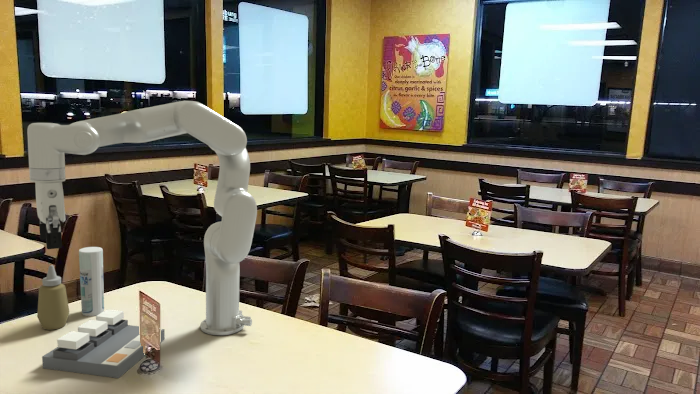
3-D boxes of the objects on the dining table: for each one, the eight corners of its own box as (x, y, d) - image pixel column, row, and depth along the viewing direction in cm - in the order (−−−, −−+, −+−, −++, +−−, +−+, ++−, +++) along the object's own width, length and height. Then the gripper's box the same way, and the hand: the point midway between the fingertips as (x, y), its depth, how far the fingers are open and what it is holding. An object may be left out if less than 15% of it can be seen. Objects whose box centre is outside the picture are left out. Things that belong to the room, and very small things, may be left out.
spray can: (77, 312, 163) (74, 249, 160) (97, 306, 169) (95, 245, 165) (87, 318, 160) (85, 253, 156) (108, 312, 165) (106, 249, 161)
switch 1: (89, 340, 133) (89, 333, 133) (76, 349, 128) (76, 341, 128) (71, 338, 134) (71, 331, 134) (57, 347, 129) (57, 339, 129)
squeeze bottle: (56, 333, 148) (53, 271, 145) (31, 330, 150) (27, 268, 147) (76, 322, 156) (73, 263, 153) (52, 319, 158) (49, 260, 155)
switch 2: (107, 328, 140) (107, 321, 140) (95, 336, 136) (95, 329, 135) (90, 326, 141) (90, 319, 141) (77, 334, 136) (77, 327, 136)
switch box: (164, 339, 148) (164, 323, 147) (118, 378, 127) (117, 360, 126) (98, 331, 151) (98, 316, 150) (42, 368, 130) (41, 350, 129)
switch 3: (123, 318, 148) (123, 311, 147) (113, 325, 143) (112, 318, 143) (107, 316, 149) (107, 309, 148) (96, 323, 144) (95, 316, 143)
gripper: (72, 178, 124) (75, 250, 126) (58, 169, 137) (61, 234, 140) (35, 180, 119) (38, 254, 122) (24, 170, 132) (28, 237, 135)
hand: (50, 243), depth 131 cm, fingers open, 9 cm apart
